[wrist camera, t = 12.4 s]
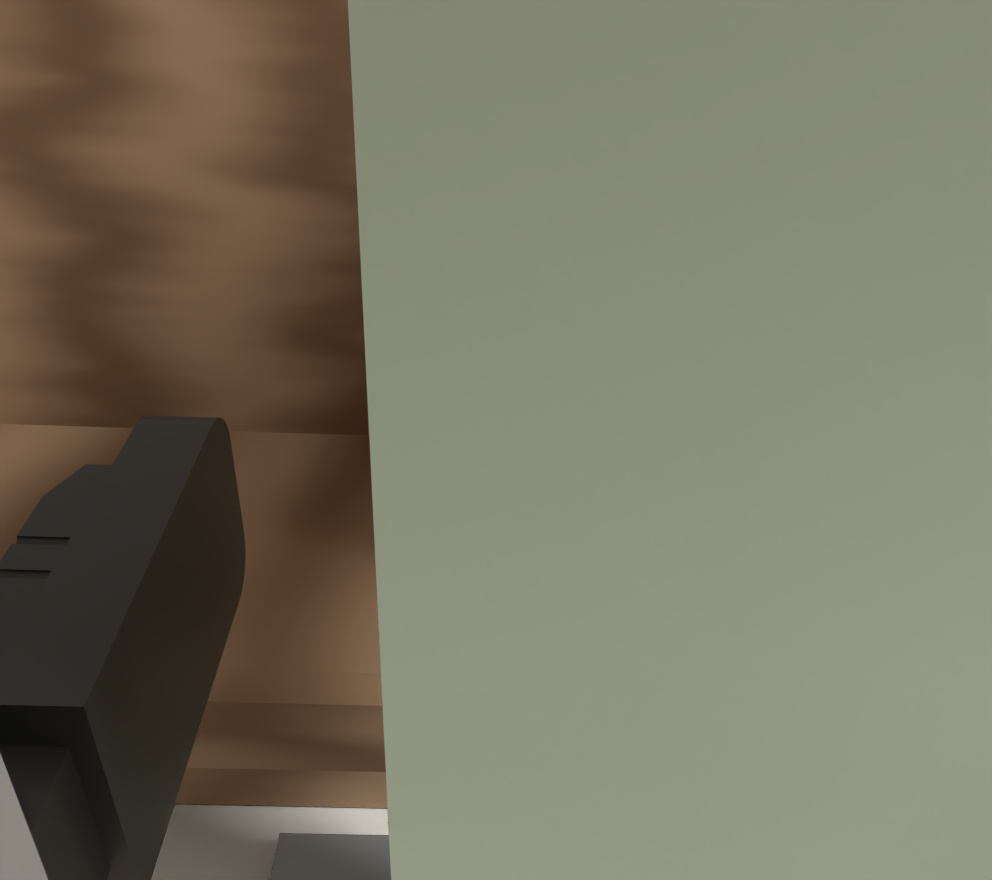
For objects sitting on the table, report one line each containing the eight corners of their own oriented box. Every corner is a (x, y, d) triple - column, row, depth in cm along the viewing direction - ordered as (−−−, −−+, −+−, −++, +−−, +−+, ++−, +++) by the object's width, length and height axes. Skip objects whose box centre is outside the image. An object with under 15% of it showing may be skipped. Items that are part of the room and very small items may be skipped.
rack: (731, 459, 30) (883, -213, 20) (863, 818, 20) (1330, -239, 9) (-13, 436, 30) (-242, -271, 20) (-300, 793, 19) (-1137, -367, 9)
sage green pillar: (659, 969, 16) (979, -229, 7) (723, 1366, 12) (1814, -289, 3) (430, 970, 16) (420, -255, 7) (415, 1372, 12) (332, -360, 2)
